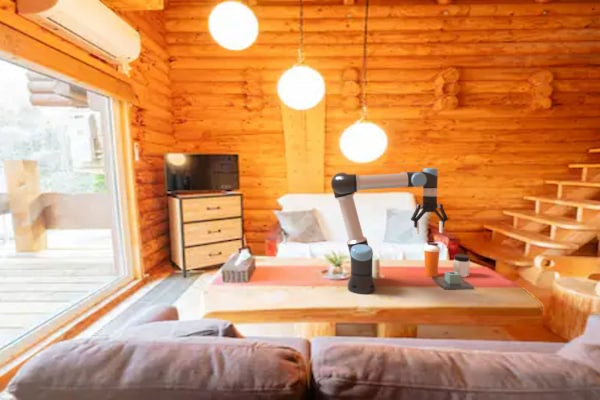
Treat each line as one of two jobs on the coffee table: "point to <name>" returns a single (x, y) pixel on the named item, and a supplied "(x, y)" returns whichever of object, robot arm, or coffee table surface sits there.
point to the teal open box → (452, 277)
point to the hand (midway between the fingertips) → (429, 233)
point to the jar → (461, 264)
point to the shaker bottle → (431, 259)
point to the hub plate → (447, 286)
